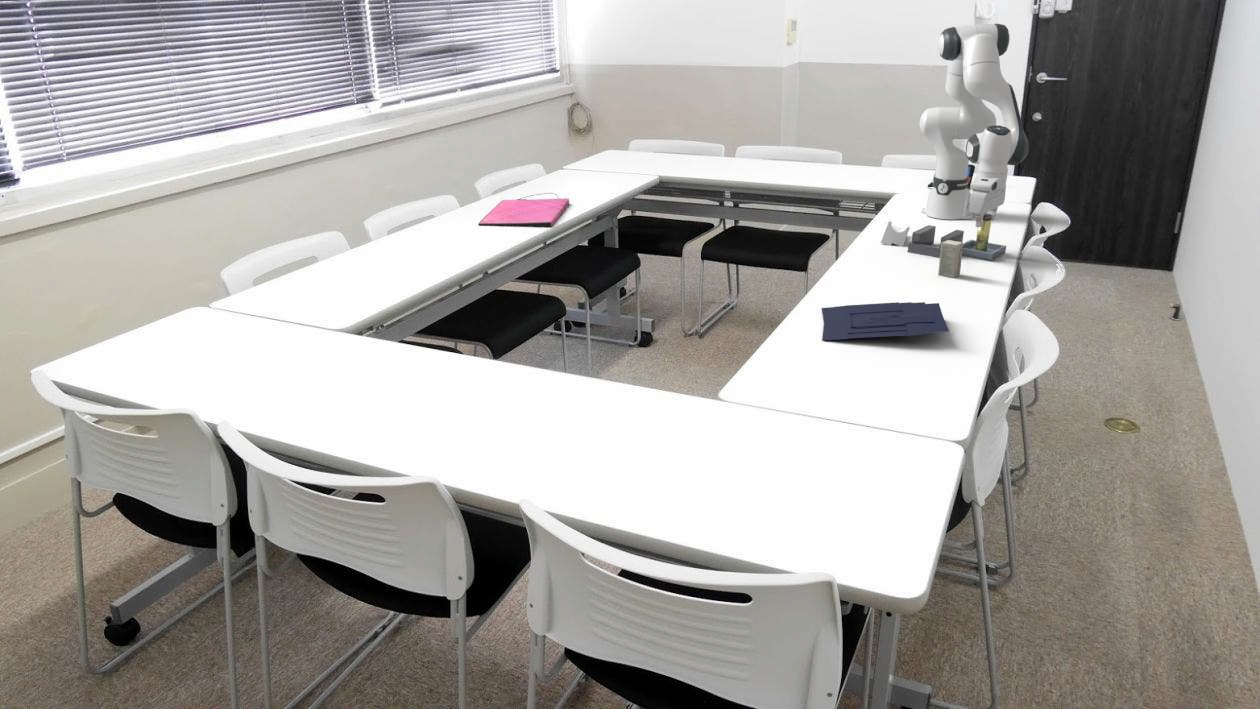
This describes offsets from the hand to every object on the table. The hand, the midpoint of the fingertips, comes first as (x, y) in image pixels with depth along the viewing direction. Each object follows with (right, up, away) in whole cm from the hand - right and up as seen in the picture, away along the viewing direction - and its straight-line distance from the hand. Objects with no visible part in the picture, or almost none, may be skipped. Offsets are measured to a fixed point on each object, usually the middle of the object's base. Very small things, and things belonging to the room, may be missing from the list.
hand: (984, 223), depth 290 cm
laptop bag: (-151, +12, +60) cm, 163 cm away
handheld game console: (+22, +28, +94) cm, 100 cm away
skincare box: (-17, -18, -16) cm, 29 cm away
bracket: (-23, -3, +20) cm, 30 cm away
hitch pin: (0, -8, +3) cm, 9 cm away
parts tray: (0, -9, +4) cm, 10 cm away
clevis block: (-13, -8, +8) cm, 17 cm away
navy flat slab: (-48, -35, -55) cm, 81 cm away
